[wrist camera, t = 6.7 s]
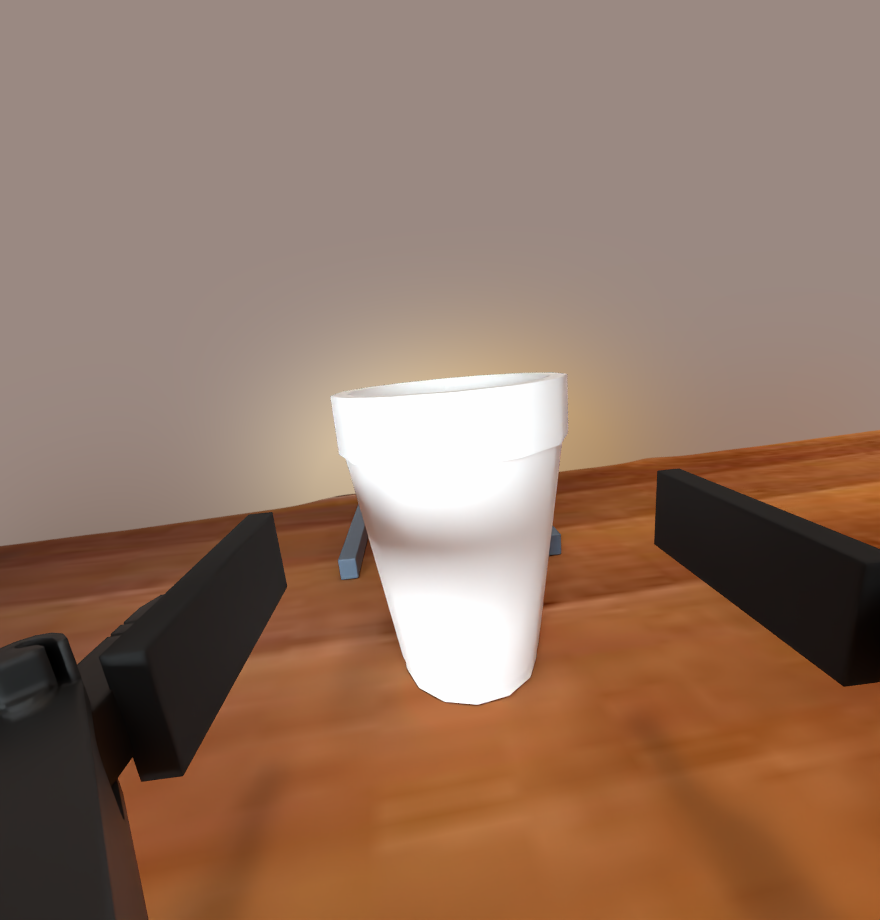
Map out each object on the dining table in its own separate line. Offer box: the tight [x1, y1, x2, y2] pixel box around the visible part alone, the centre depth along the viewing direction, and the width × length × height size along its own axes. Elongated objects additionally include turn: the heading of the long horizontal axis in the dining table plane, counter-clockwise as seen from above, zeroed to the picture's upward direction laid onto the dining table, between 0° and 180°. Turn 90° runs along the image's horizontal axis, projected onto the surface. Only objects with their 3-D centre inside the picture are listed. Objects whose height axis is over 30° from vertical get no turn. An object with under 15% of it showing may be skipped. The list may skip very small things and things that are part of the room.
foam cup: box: [330, 372, 568, 705], centre depth 18 cm, size 10×9×13 cm
